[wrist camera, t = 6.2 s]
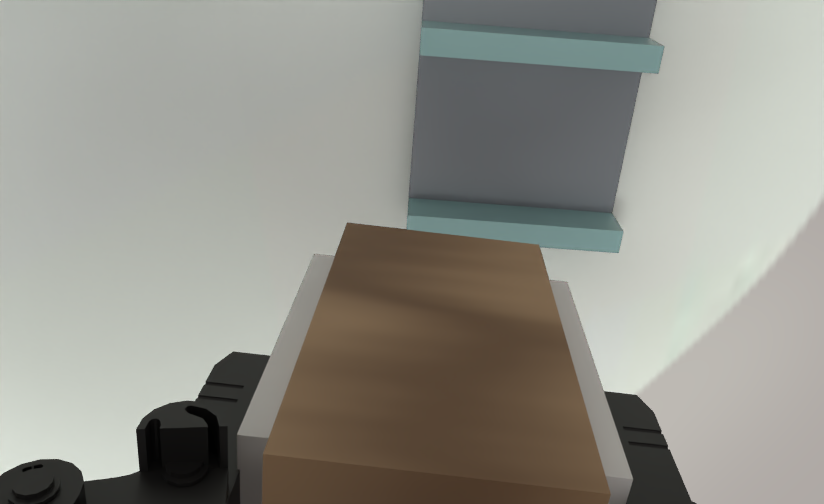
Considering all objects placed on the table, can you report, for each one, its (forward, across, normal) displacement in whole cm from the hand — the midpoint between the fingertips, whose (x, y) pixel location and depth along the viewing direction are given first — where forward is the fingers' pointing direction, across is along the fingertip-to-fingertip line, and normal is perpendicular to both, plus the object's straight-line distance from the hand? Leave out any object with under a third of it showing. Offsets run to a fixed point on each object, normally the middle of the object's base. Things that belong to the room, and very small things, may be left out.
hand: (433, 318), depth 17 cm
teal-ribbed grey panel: (+15, +3, +5) cm, 16 cm away
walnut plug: (0, 0, 0) cm, 0 cm away
